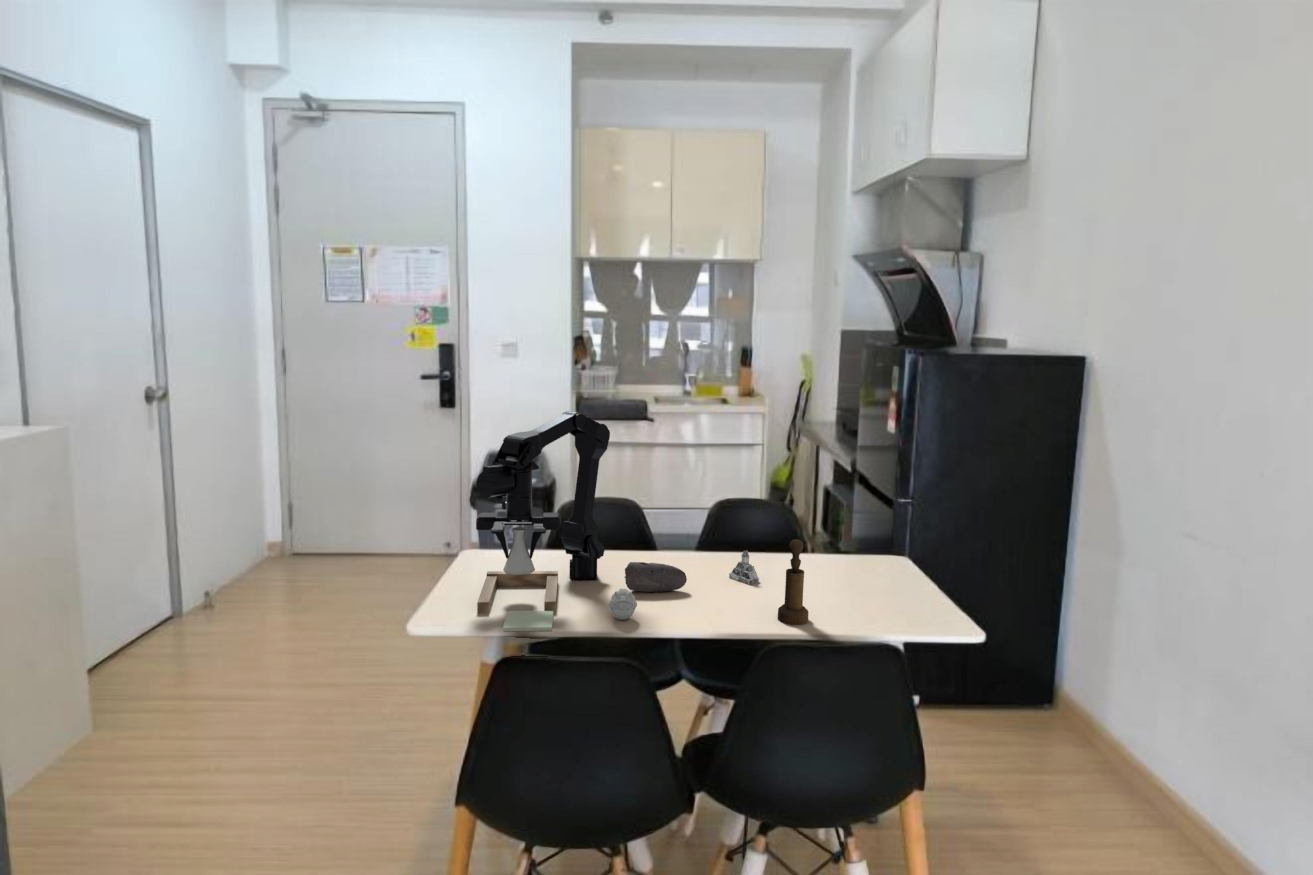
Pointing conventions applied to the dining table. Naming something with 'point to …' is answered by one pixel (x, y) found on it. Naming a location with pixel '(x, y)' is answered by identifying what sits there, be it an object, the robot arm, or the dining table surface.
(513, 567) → the flask
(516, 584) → the frame
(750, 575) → the grey temple model
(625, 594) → the frog figurine
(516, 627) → the pad
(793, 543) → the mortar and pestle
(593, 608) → the dining table surface
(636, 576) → the perforated stone tool
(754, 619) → the dining table surface
